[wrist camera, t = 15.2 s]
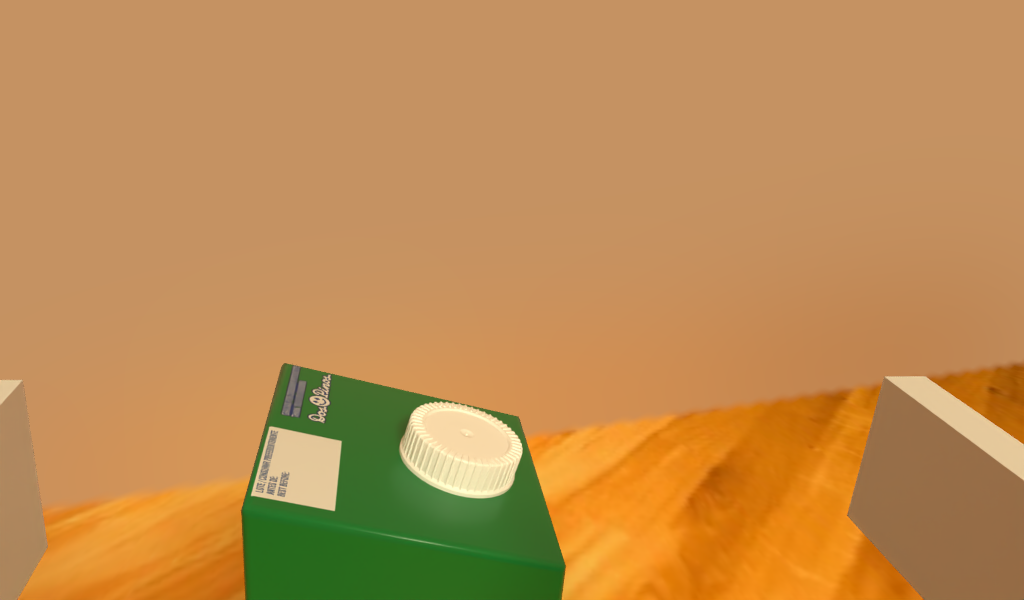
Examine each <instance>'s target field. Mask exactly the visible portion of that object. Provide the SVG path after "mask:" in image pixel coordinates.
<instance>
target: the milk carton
mask: <svg viewBox="0 0 1024 600" xmlns="http://www.w3.org/2000/svg"><path fill="white" fill-rule="evenodd" d="M241 515H242V536H243V558H244V579H245V600H562V592H563V584H564V576H565V568H566V566H565V562H564V559H563V556H562V553H561V550H560V546H559V543H558V540H557V537H556V534H555V531H554V527H553V524H552V521H551V518H550V515H549V511H548V508H547V505H546V502H545V499H544V496H543V492H542V489H541V486H540V483H539V480H538V477H537V473H536V470H535V467H534V464H533V461H532V457H531V454H530V451H529V448H528V445H527V442H526V438H525V435H524V432H523V429H522V426H521V422H520V419H519V417H517V416H513V415H508V414H504V413H500V412H495V411H491V410H487V409H483V408H478V407H474V406H469V405H465V404H461V403H456V402H452V401H448V400H443V399H439V398H434V397H430V396H426V395H422V394H417V393H413V392H409V391H404V390H400V389H395V388H391V387H387V386H382V385H378V384H374V383H369V382H365V381H361V380H356V379H352V378H347V377H343V376H339V375H334V374H330V373H326V372H321V371H317V370H312V369H308V368H303V367H299V366H295V365H291V364H286V363H284V364H283V365H282V367H281V370H280V374H279V378H278V381H277V385H276V388H275V392H274V396H273V399H272V403H271V406H270V410H269V414H268V417H267V421H266V424H265V428H264V431H263V435H262V439H261V442H260V446H259V449H258V453H257V456H256V460H255V463H254V467H253V471H252V474H251V478H250V481H249V485H248V488H247V492H246V496H245V499H244V503H243V506H242V510H241Z"/></svg>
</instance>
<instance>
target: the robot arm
mask: <svg viewBox="0 0 1024 600" xmlns="http://www.w3.org/2000/svg"><path fill="white" fill-rule="evenodd" d="M847 516H848V517H849V518H850V519H851V520H852V521H853V522H854V523H855V525H856V526H857V527H858V528H859V529H860V530H861V531H862V532H863V533H864V534H865V535H866V537H867V538H868V539H869V540H870V541H871V542H872V543H873V544H874V545H875V546H876V547H877V549H878V550H879V551H880V552H881V553H882V554H883V555H884V556H885V557H886V558H887V559H888V561H889V562H890V563H891V564H892V565H893V566H894V567H895V568H896V569H897V570H898V571H899V573H900V574H901V575H902V576H903V577H904V578H905V579H906V580H907V581H908V582H909V583H910V585H911V586H912V587H913V588H914V589H915V590H916V591H917V592H918V593H919V594H920V595H921V597H922V598H923V599H924V600H1024V444H1022V443H1021V442H1019V441H1018V440H1016V439H1015V438H1014V437H1012V436H1011V435H1009V434H1008V433H1006V432H1005V431H1003V430H1002V429H1001V428H999V427H998V426H996V425H995V424H993V423H992V422H990V421H989V420H987V419H986V418H985V417H983V416H982V415H980V414H979V413H977V412H976V411H974V410H973V409H972V408H970V407H969V406H967V405H966V404H964V403H963V402H961V401H960V400H958V399H957V398H956V397H954V396H953V395H951V394H950V393H948V392H947V391H945V390H944V389H942V388H941V387H940V386H938V385H937V384H935V383H934V382H932V381H931V380H929V379H928V378H927V377H925V376H909V377H884V379H883V383H882V387H881V391H880V394H879V398H878V402H877V406H876V409H875V413H874V417H873V421H872V424H871V428H870V432H869V436H868V440H867V443H866V447H865V451H864V455H863V458H862V462H861V466H860V470H859V473H858V477H857V481H856V485H855V489H854V492H853V496H852V500H851V504H850V507H849V511H848V515H847ZM47 547H48V545H47V538H46V532H45V525H44V518H43V512H42V505H41V498H40V492H39V485H38V479H37V472H36V465H35V459H34V452H33V445H32V439H31V432H30V425H29V418H28V412H27V405H26V398H25V392H24V385H23V380H0V600H17V599H18V597H19V596H20V594H21V592H22V590H23V589H24V587H25V585H26V584H27V582H28V580H29V578H30V577H31V575H32V573H33V571H34V570H35V568H36V566H37V565H38V563H39V561H40V559H41V558H42V556H43V554H44V552H45V551H46V549H47Z"/></svg>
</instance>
